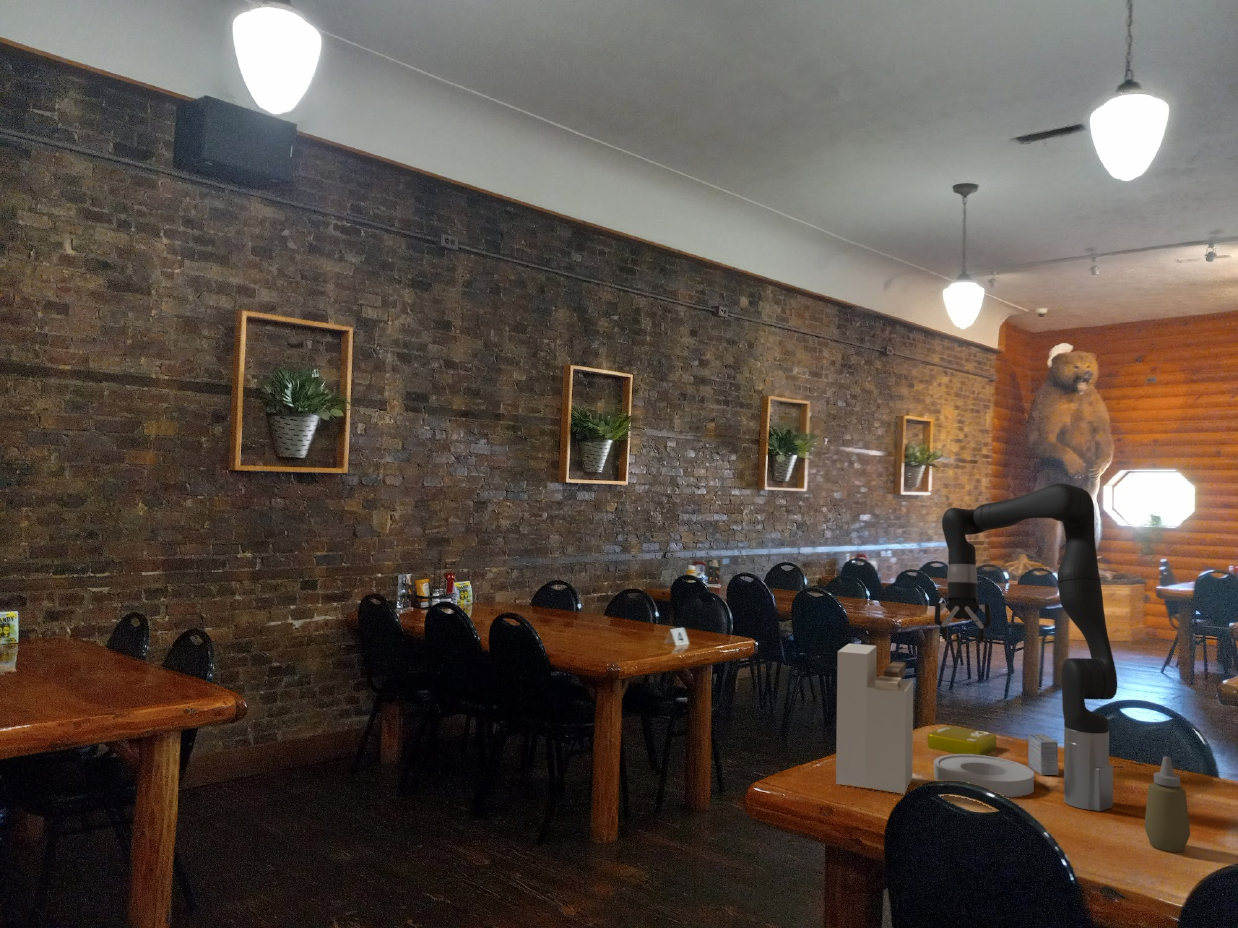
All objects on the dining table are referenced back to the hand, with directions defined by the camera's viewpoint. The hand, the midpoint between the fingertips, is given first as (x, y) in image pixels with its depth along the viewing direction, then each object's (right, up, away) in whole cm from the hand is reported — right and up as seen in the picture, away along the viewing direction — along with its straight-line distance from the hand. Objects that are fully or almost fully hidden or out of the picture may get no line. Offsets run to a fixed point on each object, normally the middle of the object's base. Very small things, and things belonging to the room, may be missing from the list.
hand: (962, 642), depth 246 cm
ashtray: (-2, -31, -19) cm, 37 cm away
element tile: (+4, -33, +13) cm, 36 cm away
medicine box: (+17, -32, -9) cm, 37 cm away
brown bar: (-25, -6, -19) cm, 31 cm away
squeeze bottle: (+18, -30, -61) cm, 71 cm away
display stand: (-30, -30, -21) cm, 47 cm away
